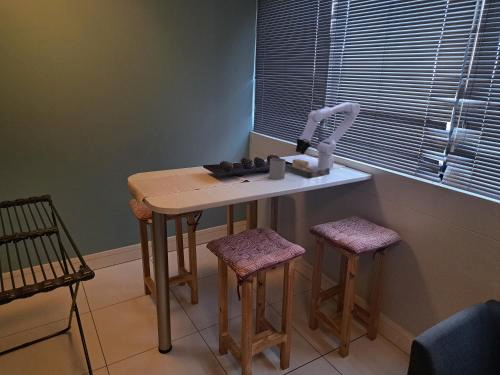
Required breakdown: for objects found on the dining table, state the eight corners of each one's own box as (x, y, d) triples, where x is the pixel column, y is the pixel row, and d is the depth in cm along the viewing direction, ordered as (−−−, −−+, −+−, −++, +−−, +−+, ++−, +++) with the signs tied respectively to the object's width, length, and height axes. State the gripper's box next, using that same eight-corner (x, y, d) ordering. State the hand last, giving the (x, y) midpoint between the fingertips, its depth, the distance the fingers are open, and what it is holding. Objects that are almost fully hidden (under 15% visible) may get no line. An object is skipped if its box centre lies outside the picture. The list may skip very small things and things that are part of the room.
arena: (300, 166, 215) (300, 160, 214) (329, 175, 198) (329, 168, 197) (280, 170, 205) (280, 163, 204) (309, 179, 188) (309, 172, 187)
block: (297, 166, 211) (297, 158, 210) (308, 170, 204) (308, 162, 203) (292, 167, 208) (292, 159, 207) (302, 171, 202) (303, 162, 200)
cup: (284, 180, 186) (286, 161, 182) (269, 179, 186) (270, 161, 183) (283, 175, 194) (284, 158, 190) (269, 175, 194) (270, 157, 191)
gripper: (306, 131, 208) (297, 152, 210) (298, 126, 195) (289, 148, 197) (317, 135, 205) (307, 156, 207) (309, 130, 192) (300, 153, 194)
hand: (299, 153), depth 201 cm, fingers open, 7 cm apart
